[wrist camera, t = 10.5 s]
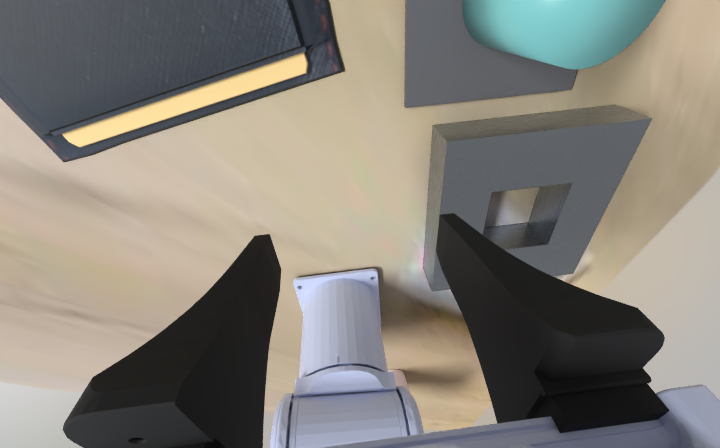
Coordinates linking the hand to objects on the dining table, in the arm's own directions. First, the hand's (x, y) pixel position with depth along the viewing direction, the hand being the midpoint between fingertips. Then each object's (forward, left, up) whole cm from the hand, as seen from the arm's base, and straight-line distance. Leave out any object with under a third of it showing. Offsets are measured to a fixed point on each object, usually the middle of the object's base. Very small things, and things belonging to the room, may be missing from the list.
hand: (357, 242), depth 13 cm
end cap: (+8, -10, -10) cm, 16 cm away
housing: (-6, -13, -10) cm, 18 cm away
